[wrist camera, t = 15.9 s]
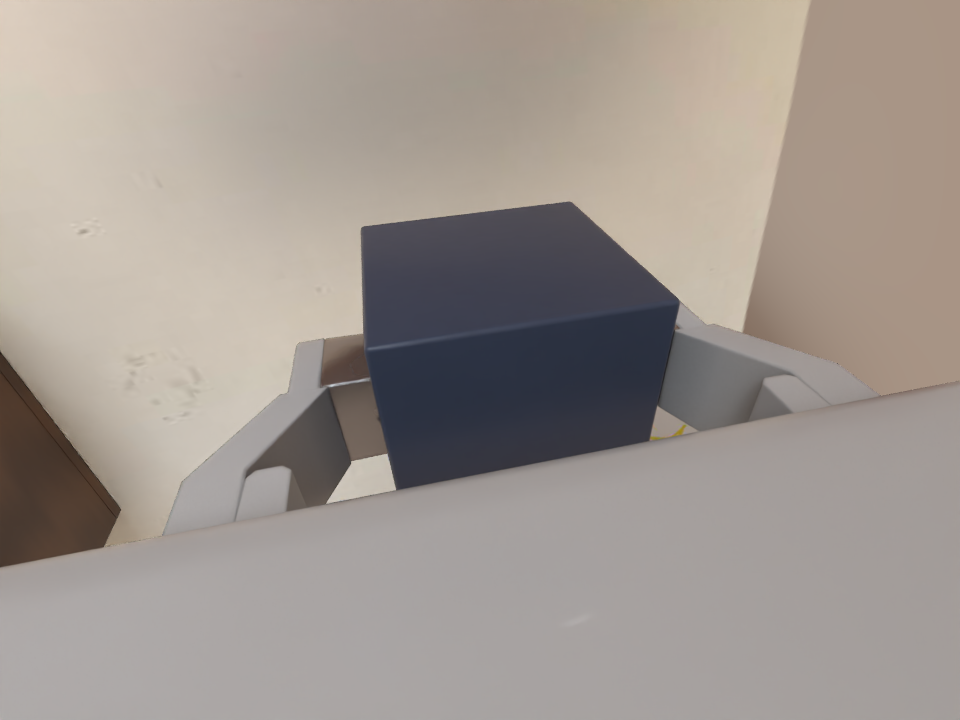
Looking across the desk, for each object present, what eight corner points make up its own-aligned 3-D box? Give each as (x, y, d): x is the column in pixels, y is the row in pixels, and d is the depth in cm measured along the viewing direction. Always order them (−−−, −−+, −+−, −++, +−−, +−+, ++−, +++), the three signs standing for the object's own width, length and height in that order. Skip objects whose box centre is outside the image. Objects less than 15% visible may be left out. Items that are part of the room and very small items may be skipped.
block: (359, 225, 10) (362, 349, 6) (572, 200, 11) (683, 300, 7) (394, 394, 13) (409, 548, 9) (561, 366, 13) (637, 500, 10)
